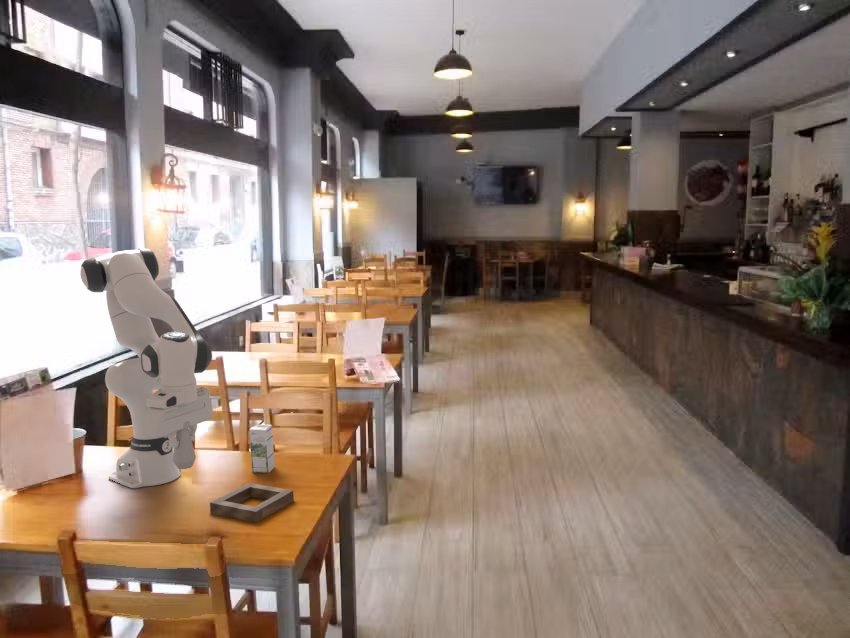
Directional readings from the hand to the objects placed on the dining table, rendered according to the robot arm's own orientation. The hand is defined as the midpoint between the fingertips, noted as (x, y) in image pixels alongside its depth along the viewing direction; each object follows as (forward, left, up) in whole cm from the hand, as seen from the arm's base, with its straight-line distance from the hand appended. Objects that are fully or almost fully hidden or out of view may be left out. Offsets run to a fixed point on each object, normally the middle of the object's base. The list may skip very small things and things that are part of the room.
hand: (182, 444), depth 183 cm
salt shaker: (0, 0, -6) cm, 6 cm away
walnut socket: (+12, +12, -20) cm, 26 cm away
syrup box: (-5, +37, -20) cm, 42 cm away
